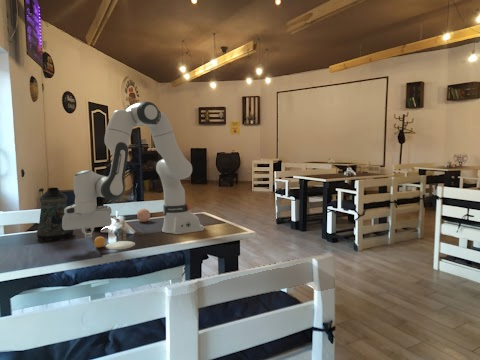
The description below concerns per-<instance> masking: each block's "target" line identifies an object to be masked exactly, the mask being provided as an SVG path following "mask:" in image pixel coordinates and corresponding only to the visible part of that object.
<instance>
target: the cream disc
mask: <svg viewBox="0 0 480 360" xmlns="http://www.w3.org/2000/svg"><path fill="white" fill-rule="evenodd" d="M104 246H105V249H108V250H112V251H113V250H114V251H116V250H119V251H120V250H126V249H130V248H132V247H134V246H136V243H135V242H134V241H130V240H122V241H121V240H119V241H114V242H110V243H107V244H105V245H104Z"/></svg>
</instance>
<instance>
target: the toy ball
mask: <svg viewBox="0 0 480 360" xmlns="http://www.w3.org/2000/svg"><path fill="white" fill-rule="evenodd" d="M136 215H137V220H138V222H142V223H146V222H148V221H149V220H150V218H151V212H150V211H149V210H148V209H146V208H141V209H139V210H138V211H137V214H136Z"/></svg>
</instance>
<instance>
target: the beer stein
mask: <svg viewBox="0 0 480 360" xmlns="http://www.w3.org/2000/svg"><path fill="white" fill-rule="evenodd" d="M67 200H68V196H67V195H66V194H65V193H64V192H62V191H61V190H59V188H58V187H49V188H48V189H47V190H46V191H45V192H44V193H43V194H42V195H41V196H40V197H39V202H40V204H41V205H40V213H39V222H38V227H37V231H36V237H37V240H38V241H40V242H45V243H46V242H50V243H51V242H57V241H64V240H68V239H70V238H73V235H74V230H75V229H73V230H64V229H63V228H62V218H63V216H64V214H65V213H64V209H65V208H66V207H68V205H67Z"/></svg>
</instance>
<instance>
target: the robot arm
mask: <svg viewBox="0 0 480 360" xmlns="http://www.w3.org/2000/svg"><path fill="white" fill-rule="evenodd" d="M140 126H141V127H143V126H146V127H147V128H148V129H149V131H150V135H151V137H152V140H153V144H154V147H155V150H156V152H157V153H158V154H159V155H160V156H161V158H162V159H160V160H158V161H157V163H156V164H155V165H156V166H155V171H156V173H157V175H158V176H159V178H160V181H161V186H162V190H163V203H164V204H163V207H162V208H163V209H162V211H163V215H164V216H163V224H162V228H161V231H162V232H163V233H166V234H173V235H181V234H189V233H196V232H202V231H205V226H204V225H202V224H201V222H200V219H199V217H198V216H197V215H196V214H194V213H193V212H191V211H190V209H191V205H189V204H187V203H186V191H185V188H184V186H183V185H182V184H183V183H181V180H184V179H187V178H189V177H190V176H191V175H192V173H193V165H192V163H191V162H190V161H189V160H188V159H187V158H186V157H185V155H184V154H183V152H182V151H181V149H180V147H179V145H178V142H177V139H176V135H175V133H174V129H173V126H172V125H171V122H170V119H169V118H168V116H167V114H166V113H165V112H162V111H160V109H159V108H158V106H157V105H156V104H155V103H154V102H151V101H142V102H141V101H139V102H135V103H133V104H131V105H130V104H129V105H128V106H127V107H125V109H116V110H114V111H113V112H112V114H111V117H110V119H109V121H108V124H107V127H106V129H105V132H104V133H105V134H104V141H103V142H104V144H105V147H106V148H107V150H109V152H110V153H111V155H112V159H111V165H110V171H109V173H108V174H109V175H108V176H105V175H102V174H99V173H96V172H94V171H93V170H91V169H86V170H80V171H78V172H76V173H75V174H74V175H73V183H72V184H73V194H74V203H73V204H71V205H69V206H68V205H67V207H66V208H65V209H64V213H65V214H64V216H63V218H62V228H63V229H64V230H73V229H74V230H81V232H82V234H84V238H85V239H87V238H88V239H89V238H93V232H95V231H94V227H103V226H109V227H110V226H111V225H112V224H113V223H112V208H111V207H110V206H108V205H104V206H97V202H96V198H97V197H103V198H105V199H106V200H109V201H117V200H120V199H121V198H122V197H123V196H124V194H125V192H126V182H125V176H126V175H125V174H126V169H127V164H128V158H129V146H130V145H129V144H130V139H131V137H132V132H133V129H134V127H140ZM89 228H90V229H91V230H92V231H90V232H88V233H87V232H86V229H89Z"/></svg>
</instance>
